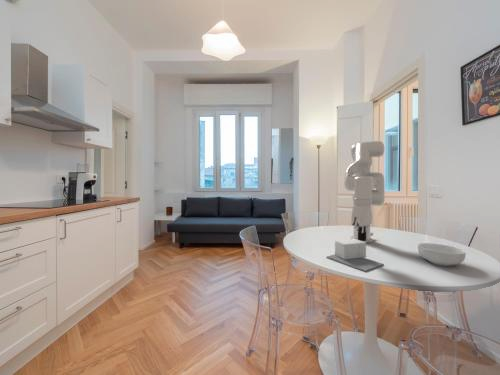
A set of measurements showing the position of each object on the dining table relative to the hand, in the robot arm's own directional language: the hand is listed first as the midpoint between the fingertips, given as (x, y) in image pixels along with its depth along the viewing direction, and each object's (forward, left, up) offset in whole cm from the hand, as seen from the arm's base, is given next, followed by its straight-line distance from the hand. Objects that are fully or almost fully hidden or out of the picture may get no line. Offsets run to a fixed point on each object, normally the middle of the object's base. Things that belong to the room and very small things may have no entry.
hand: (361, 240), depth 111 cm
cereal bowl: (-26, +22, -9) cm, 35 cm away
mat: (+6, 0, -9) cm, 11 cm away
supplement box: (-4, -3, -5) cm, 7 cm away
